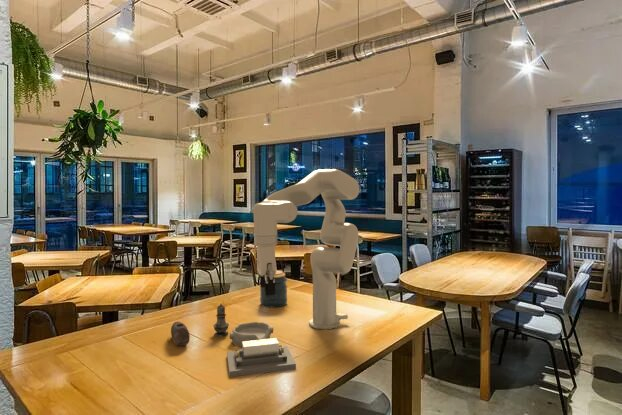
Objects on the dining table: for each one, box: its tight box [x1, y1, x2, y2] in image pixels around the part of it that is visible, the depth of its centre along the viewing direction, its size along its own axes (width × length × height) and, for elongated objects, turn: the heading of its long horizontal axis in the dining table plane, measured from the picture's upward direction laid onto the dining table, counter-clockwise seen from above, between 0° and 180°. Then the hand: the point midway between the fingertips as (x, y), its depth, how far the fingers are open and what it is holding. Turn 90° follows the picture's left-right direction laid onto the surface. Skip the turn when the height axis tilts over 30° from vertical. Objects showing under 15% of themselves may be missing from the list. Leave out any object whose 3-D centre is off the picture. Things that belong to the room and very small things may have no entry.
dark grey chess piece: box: [212, 303, 230, 338], centre depth 148 cm, size 6×6×12 cm
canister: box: [259, 269, 288, 308], centre depth 188 cm, size 13×13×18 cm
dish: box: [229, 321, 274, 348], centre depth 142 cm, size 14×14×5 cm
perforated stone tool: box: [170, 321, 190, 347], centre depth 142 cm, size 15×5×7 cm, turn 28°
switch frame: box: [226, 344, 297, 377], centre depth 124 cm, size 20×14×4 cm
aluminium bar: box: [241, 337, 280, 360], centre depth 124 cm, size 4×11×5 cm, turn 107°
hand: (267, 290), depth 131 cm, fingers open, 9 cm apart
